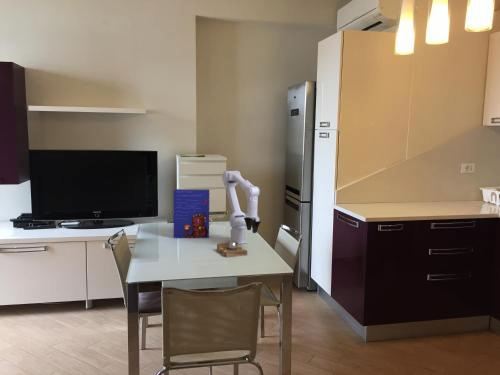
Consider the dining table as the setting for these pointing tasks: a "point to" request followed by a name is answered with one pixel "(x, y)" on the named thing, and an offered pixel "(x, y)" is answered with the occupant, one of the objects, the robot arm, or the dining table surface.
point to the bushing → (232, 245)
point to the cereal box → (191, 213)
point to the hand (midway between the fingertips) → (251, 231)
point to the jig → (224, 250)
